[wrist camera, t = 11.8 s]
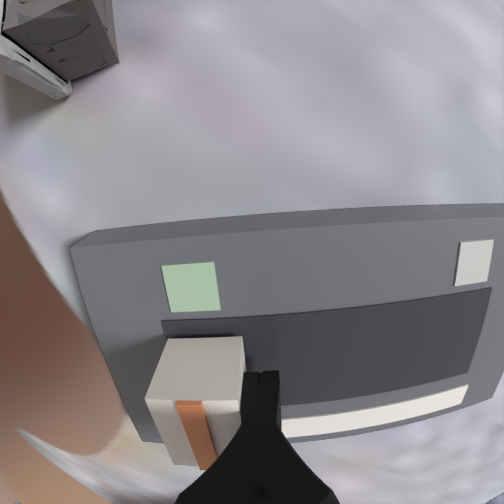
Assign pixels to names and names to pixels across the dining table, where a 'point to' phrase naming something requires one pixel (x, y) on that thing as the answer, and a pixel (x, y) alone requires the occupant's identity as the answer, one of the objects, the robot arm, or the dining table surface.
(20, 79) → the electrical switch
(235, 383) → the block
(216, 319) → the panel
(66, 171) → the dining table surface
